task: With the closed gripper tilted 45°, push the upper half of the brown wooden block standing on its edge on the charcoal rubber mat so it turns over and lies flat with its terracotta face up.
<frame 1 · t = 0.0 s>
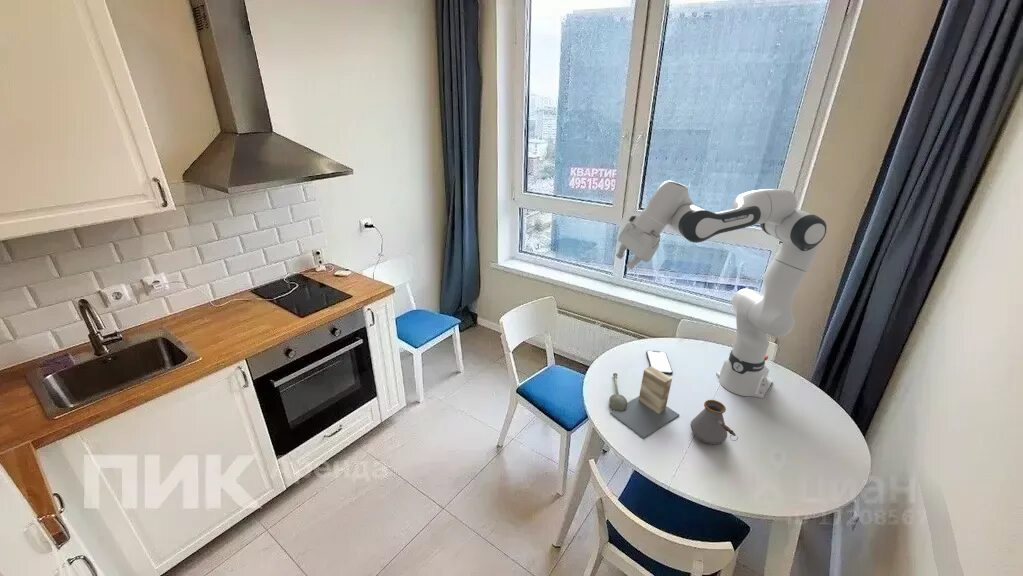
hand: (623, 262, 137), 54 cm above the table, tool tilted 30°, fingers open, 8 cm apart
soupspoon: (616, 393, 159), on the table, touching charcoal rubber mat
smartphone: (658, 364, 179), on the table
coffee pot: (711, 447, 135), on the table
charcoal rubber mat: (644, 414, 148), on the table
brown wooden block: (651, 404, 153), resting on charcoal rubber mat
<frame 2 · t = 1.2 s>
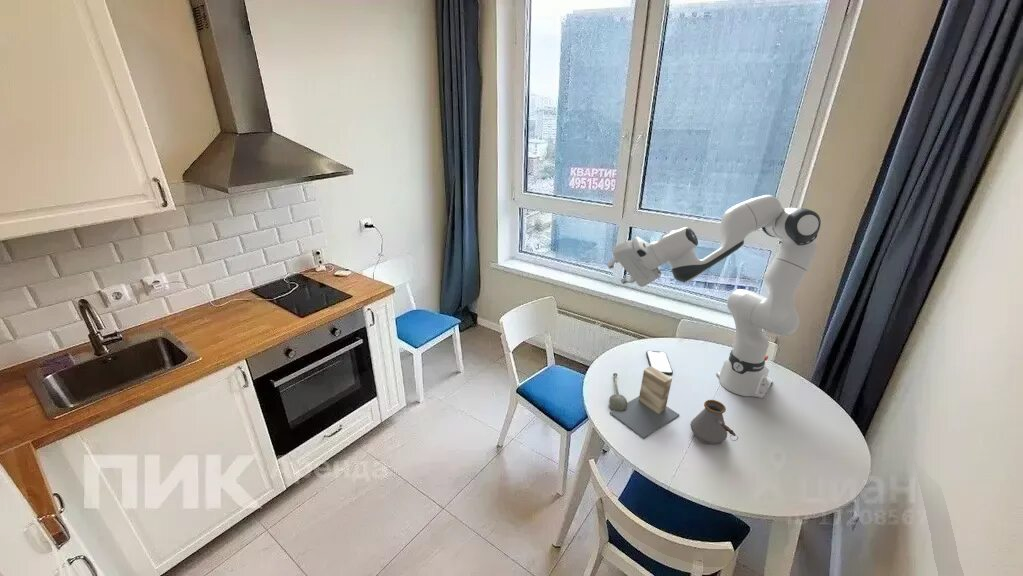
hand: (615, 274, 152), 45 cm above the table, tool tilted 55°, fingers open, 8 cm apart
nothing on the table moved.
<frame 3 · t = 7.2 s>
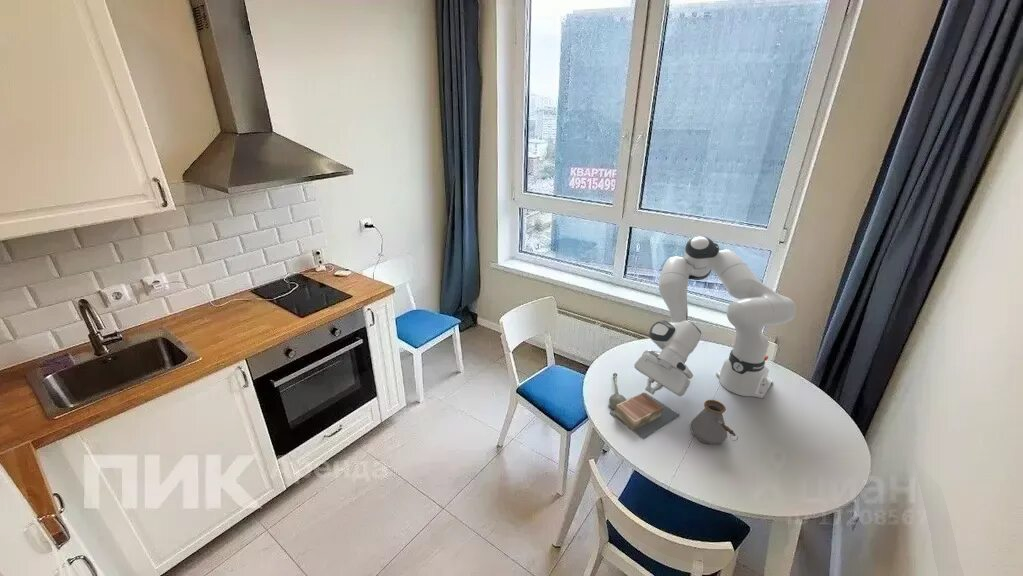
hand: (648, 392, 148), 8 cm above the table, tool tilted 45°, fingers closed
soupspoon: (616, 393, 159), on the table, touching brown wooden block, charcoal rubber mat
brown wooden block: (652, 403, 150), point 3 cm above the table, tilted 90°, touching charcoal rubber mat, soupspoon
everything else where it was.
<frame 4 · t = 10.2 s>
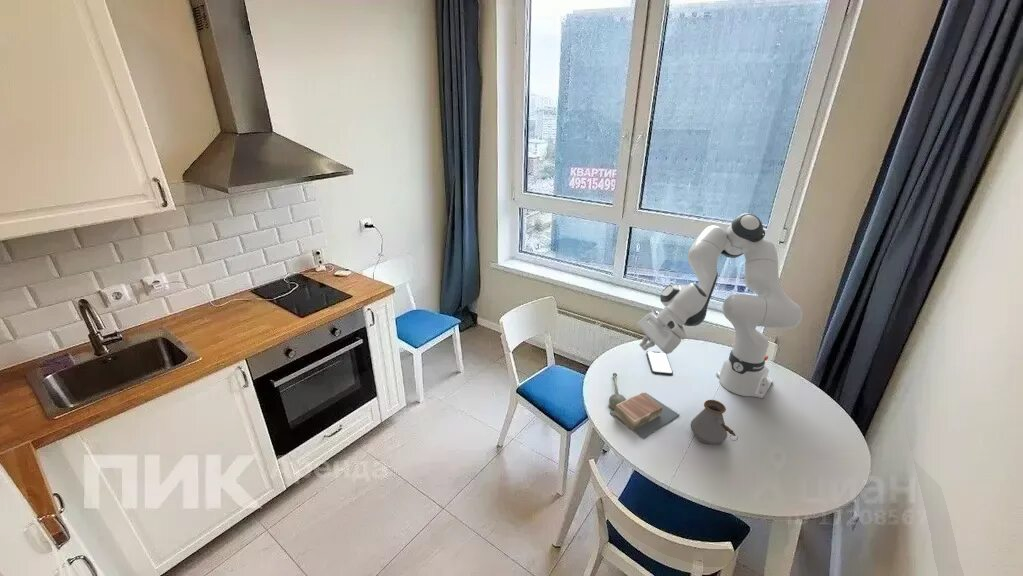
hand: (642, 347, 152), 20 cm above the table, tool tilted 40°, fingers closed
nothing on the table moved.
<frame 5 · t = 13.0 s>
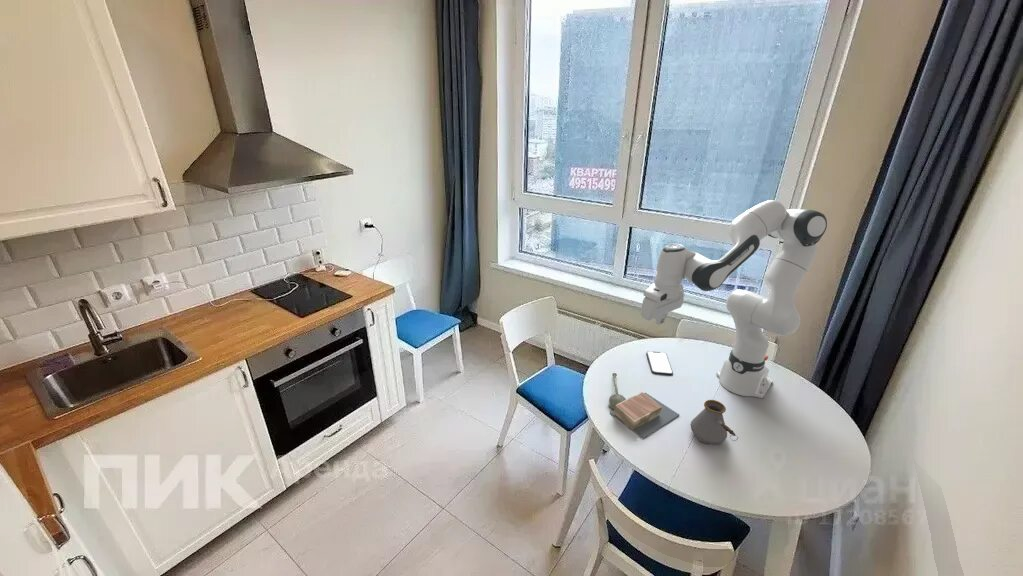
hand: (659, 323, 151), 29 cm above the table, tool pointing down, fingers closed
soupspoon: (616, 392, 159), on the table, touching charcoal rubber mat
brown wooden block: (650, 403, 150), point 3 cm above the table, tilted 90°, touching charcoal rubber mat
everything else where it was.
at the end: brown wooden block tilted 90°; brown wooden block touching charcoal rubber mat; brown wooden block inside the target area (1.6 cm from its centre), point 2.8 cm above the table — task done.
